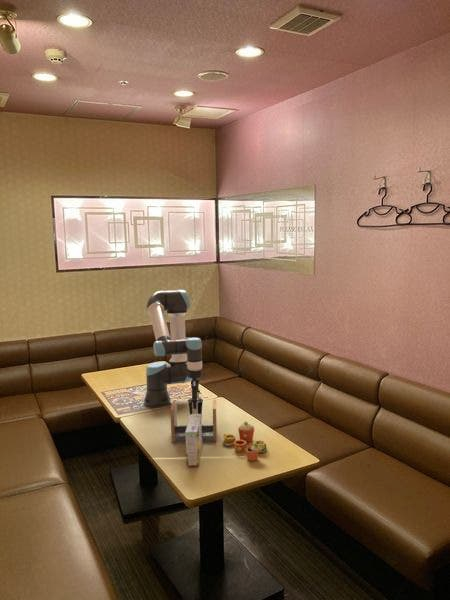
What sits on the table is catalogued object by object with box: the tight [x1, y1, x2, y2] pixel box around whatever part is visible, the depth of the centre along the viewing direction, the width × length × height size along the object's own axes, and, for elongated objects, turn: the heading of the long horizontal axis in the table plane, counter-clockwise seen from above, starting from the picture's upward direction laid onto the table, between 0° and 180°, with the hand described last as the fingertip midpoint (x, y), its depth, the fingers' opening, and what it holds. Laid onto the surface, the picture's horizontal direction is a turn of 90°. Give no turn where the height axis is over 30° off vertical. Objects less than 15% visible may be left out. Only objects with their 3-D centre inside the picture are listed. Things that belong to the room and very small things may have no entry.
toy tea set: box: [221, 421, 268, 462], centre depth 216 cm, size 26×16×10 cm, turn 30°
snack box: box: [185, 413, 204, 467], centre depth 210 cm, size 21×6×15 cm, turn 178°
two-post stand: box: [170, 398, 218, 444], centre depth 230 cm, size 13×21×16 cm, turn 91°
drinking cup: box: [187, 397, 204, 419], centre depth 243 cm, size 8×8×20 cm
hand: (195, 410), depth 243 cm, fingers open, 13 cm apart
